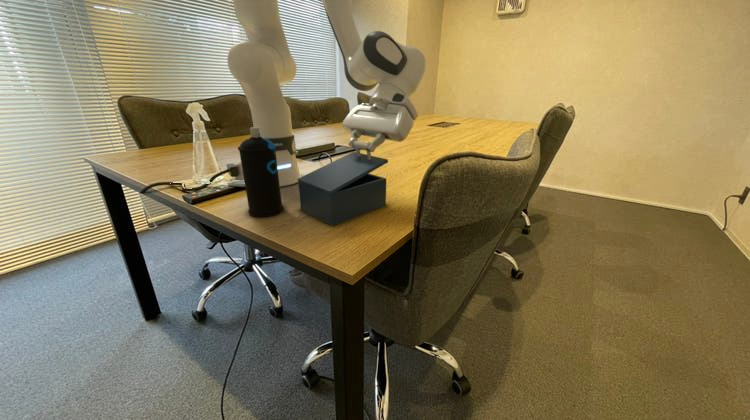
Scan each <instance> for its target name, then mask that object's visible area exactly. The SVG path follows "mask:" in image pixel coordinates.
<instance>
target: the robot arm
mask: <svg viewBox="0 0 750 420" xmlns="http://www.w3.org/2000/svg"><path fill="white" fill-rule="evenodd" d="M278 1H279V0H232V2H233V3H232V4H233V7H234V13H235V17H236V20H237V21H238V23H239V25H240V26H241V27H242V28H243V30H244V32H245V35H246V38H247V40H246V41H241V42H238V43H235V44H234V45H233V46H231V48H229V51H228V53H227V57H226V59H227V68H228V70H229V72H230V73H231V75H232V77H233V78H234V79H235V80H236V81H237V82H238V83H239V85H240V87H241V89H242V91H243V93H244V95H245V98H246V101H247V103H248V106H249V109H250V113H251V120H252V125H253V126H252V127H259V133H260V137H262V138H265V139H268V140H270V141H271V142H272V143H273V144H274V145H276V148H275V151H276V159H277V168H278V176H279V184H280V187H286V186H290V185H294V184H298V179H299V178H301V177H303V176H302V175H301V170H300V168H299V165H298V161H297V156H296V153H297V152H296V151H297V146H296V139H295V135H294V133H293V123H292V115H291V108H290V106H289V104H288V103H287V102H286V99H285V96H284V93H283V90H282V87H284V86H286V85H288V84H289V83H290V82H292V81H293V80H294V78H295V77H296V76H297V75H296V74H297V63H296V61H295V59H294V57H293V55H292V53H291V51H290V47H289V44H288V41H287V38H286V35H285V32H284V31H285V30H284V27H283V24H282V20H281V15H280V9H279V2H278ZM321 2H322V5H323V8H324V11H325V15H326V18H327V20H328V23H329V25H330V28H331V30H332V33H333V35H334V38H335V41H336V43H337V45H338V48H339V51H340V54H341V56H342V60H343V61H342V62H343V70H344V75H345V79H346V80H347V82H348V83H349V84H350V86H351V87H353V88H354V89H356V90H358V91H361V92H369V91H372V90H373V89H374V88H375V87H376V88H375V91H374V92H373V94H372V95H371V97H370V99H369V101H368V102H362V103H361V104H356V105H355V106H353V108H352V109H351V110H350V111H349V113H348V114H347V115H346V116H345V118H344V119H343V121H342V125H341V126H342V127H343V129H344V130H345V131H346V132H347V133H348V134H351V135H350V140H349V142H348V143H347V144H348V146H349V148H351V149H355V148H354V147H353V143H354V141H359V139H360V138H361V136H362V137H369V138H374V139H373V140H372V141H368V142H367V143H368V144H367V146H366V149H367V150H368V151H369V152H371V153H374V152H375V151H376V149H377V148H378V147H379V146H380V145H382V144H384V143H385V141H386V140H387V141H392V142H399V143H402V142H403V141H404V140H406V139H407V138H408V136H409V134H410V132H411V131H412V129H413V126H414V123H415V121H416V120H417V118H418V117H419V114H418V111H417V109H416V107H415V105H414V104H413V102H412V100H411V97H412V96H413V95H414V94H415V92H416V91H417V89H418V88H419V86H420V84H421V82H422V80H423V78H424V76H425V73H426V70H427V60H426V57H425V55H424V54H423V52H422V51H421V50H420V49H419V48H417V47H416V46H412V45H403V44H401V43H399V42H398V41H396V40H395V39H394V38H393V37H392V36H391V35H390V34H388V33H386V32H384V31H381V30H374V31H371V32H369V33H368V34H367V35H366V36H365V37H364V38H363V40H362V39H361V36H360V33H359V31H358V28H357V26H356V22H355V20H354V16H353V10H352V7H353V6H352V3H353V0H321ZM377 85H378V86H377ZM225 174H228V175H229V177H230V178H231V177H234V179H231V180H229V179H227V186H231V187H239V188H240V187H241V188H245V184H235V183H228V181H232V180H244V176H243V170H242V164H241V158H239V159H238V160H237V161H236V162H235V163H226V169H224V170H222V171H220V172H217V173H215V174H214V175H213V176H211V177H210V179H209V180H208V181H210V182H212V183H213V181H214V180H215V179H217V178H218V177H221V176H222V175H225ZM173 182H174V181H160V182H153V183H151V184H149V185H147V186H144V188H142V189H141V190H140V192H139V194H145V193H146V192H147V191H148V190H150V189H152V188H155V187H159V186H182V183H184V182H182V183H173ZM170 183H171V184H170ZM212 183H210V184H206V183H203V184H202V185H199V186H196V187H191V188H192V189H184V188H182V187H181V190H182V191H184V192H196V191H200V190H203V189H205V188H207V187H209V186H210V185H211V184H212ZM184 187H185V188H186V183H184Z"/></svg>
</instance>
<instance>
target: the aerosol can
mask: <svg viewBox="0 0 750 420" xmlns="http://www.w3.org/2000/svg"><path fill="white" fill-rule="evenodd" d="M249 133H250V137H249V138H246V139H244V140H243V141H242V142H241V143H240V144H239V146H237V150H238V151H239V157H240V158H241V164H242V170H243V176H244V182H245V187H244V188H245V192H246V198H247V205H248V211H247V212H248V215H250V217H251V216H252V217H255V218H268V217H273V216H276V215H279V214H280V213H282V212H283V210H284V206H283V203H282V195H281V194H282V193H281V186H280V184H279V176H278V168H277V159H276V151H275V148H276V145H274V144H273V143H272V142H271V141H270V140H268V139H265V138H262V137H260V133H259V127H254V126H252V127H249ZM240 158H239V159H240Z"/></svg>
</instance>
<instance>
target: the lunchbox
mask: <svg viewBox="0 0 750 420" xmlns="http://www.w3.org/2000/svg"><path fill="white" fill-rule="evenodd" d="M297 185H298V195H299V204H300V206H299V207H300V211H302V212H303V213H305V214H307V215H310V216H312V217H314V218H315V219H317V220H319V221H321V222H323V223H325V224H327V225H329V226H331V227H333V226H336V225H338V224H341V223H344V222H346V221H349V220H351V219H354V218H356V217H359V216H363V215H364V214H367V213H370V212H372V211H375V210H378V209H380V208H383V207H385V206H387V178H385V177H383V176H379V175H376V174H372V173H368V174H367V175H365V176H363V177H361V178H360V179H358V180H356V181H354V182H352V183H351V184H349V185H347V186H345V187H344V188H342V189H340V190H338V191H336V192H335V193H333V194H331V195H330V194H328V193H325V192H323V191H320V190H318V189H315V188H313V187H310V186H308V185H305V184H303V183H300V182H297Z"/></svg>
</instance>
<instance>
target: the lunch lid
mask: <svg viewBox="0 0 750 420" xmlns="http://www.w3.org/2000/svg"><path fill="white" fill-rule="evenodd" d="M367 144H368V142H364V141H359V140H357V141H354V143H353V147H354V148H353V149H355V151H352V152H350V153H347V154H346V155H344V156H341V157H340V158H338V159H336V160H334V161H332V162H329V163H328V164H326V165H323V166H321V167H319V168H317V169H315V170H313V171H311V172H309V173H307V174H305V175H303V176H302V177H301V178H299V179H298V182H300V183H303V184H305V185H308V186H310V187H313V188H315V189H318V190H320V191H323V192H325V193H328V194H330V195H331V194H333V193H335V192H336V191H338V190H340V189H342V188H344V187H345V186H347V185H349V184H351V183H352V182H354V181H356V180H358V179H360V178H361V177H363V176H365V175H367V174H368V173H369V174H371V173H372V172H374V171H375V170H377V169H379V168H381V167H383V166H384V165H386V164H388V163H389V160H388V159H386V158H384V157H383V158H382V157H379V156H375V155H372V152H369V151H368V150H367V149H366V146H367ZM361 150H363V151H366V153H361ZM298 182H297V183H298Z"/></svg>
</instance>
